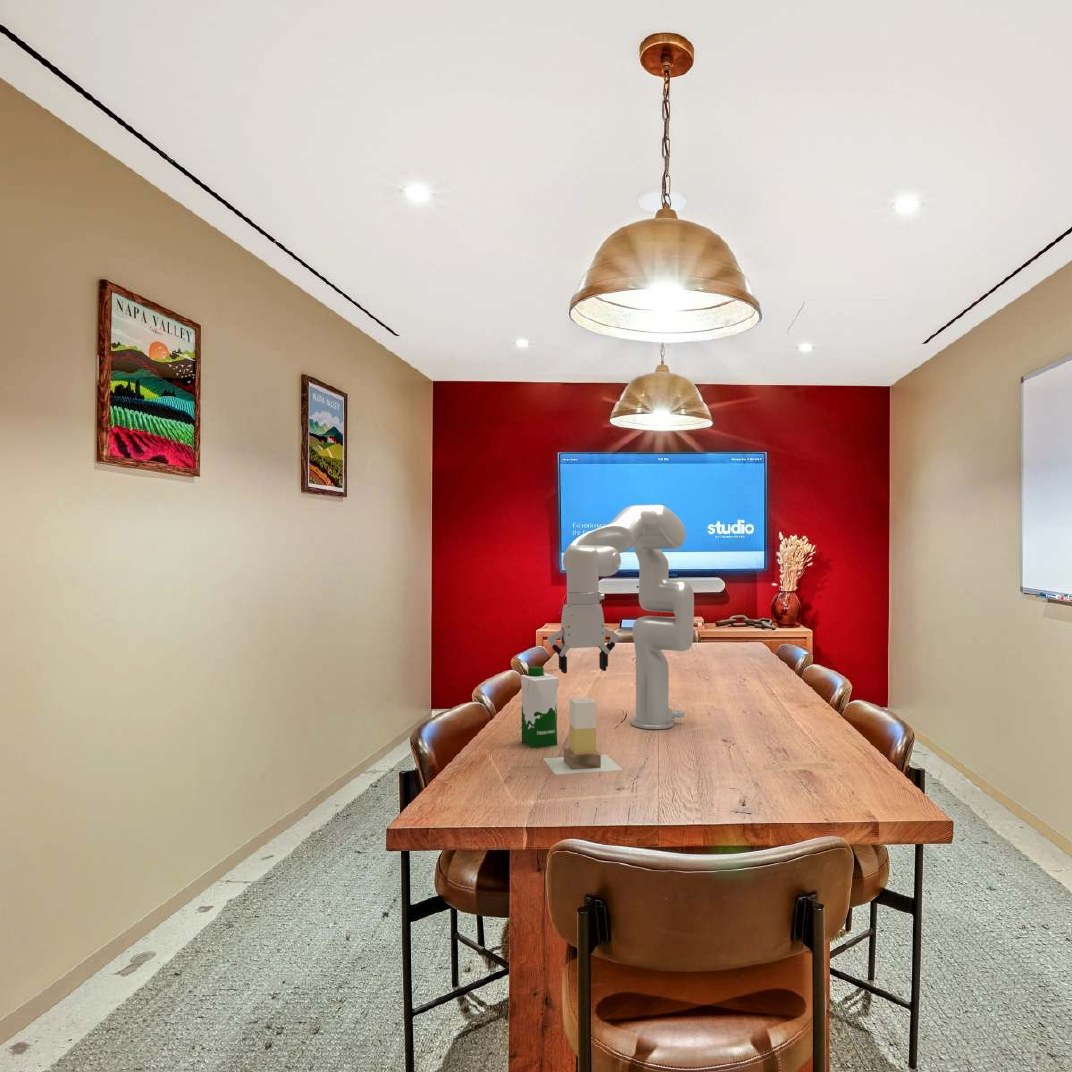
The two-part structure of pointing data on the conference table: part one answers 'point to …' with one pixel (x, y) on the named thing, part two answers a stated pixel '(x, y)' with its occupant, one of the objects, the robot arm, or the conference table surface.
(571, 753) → the walnut base brick
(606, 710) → the conference table surface
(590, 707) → the cream brick
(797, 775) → the conference table surface
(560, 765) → the plate
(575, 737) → the mustard brick
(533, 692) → the milk carton
